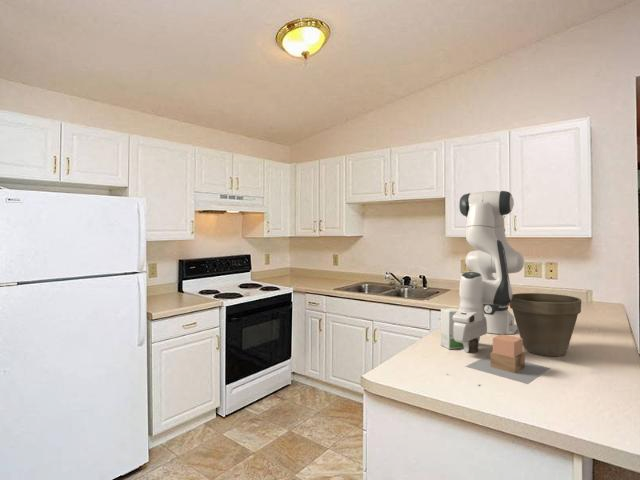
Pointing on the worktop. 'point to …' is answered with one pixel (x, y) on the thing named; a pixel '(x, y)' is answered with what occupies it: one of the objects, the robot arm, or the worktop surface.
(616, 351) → the worktop surface
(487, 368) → the slate mat
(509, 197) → the robot arm
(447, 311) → the skincare box
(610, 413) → the worktop surface
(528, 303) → the plant pot
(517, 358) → the walnut base block
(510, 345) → the terracotta top block
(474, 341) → the espresso cylinder
